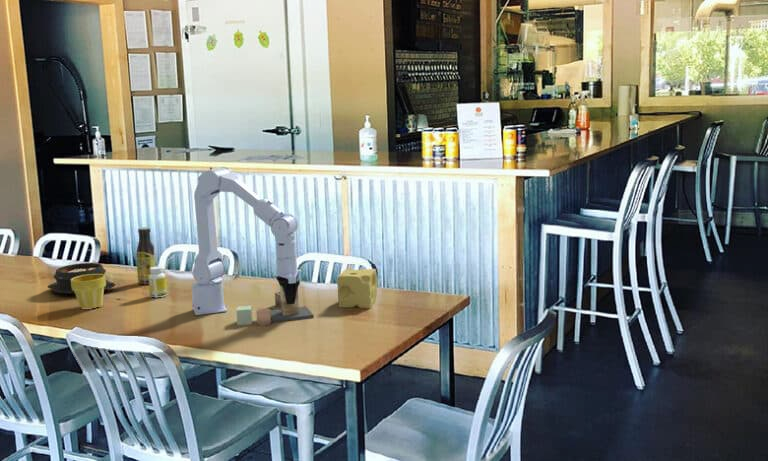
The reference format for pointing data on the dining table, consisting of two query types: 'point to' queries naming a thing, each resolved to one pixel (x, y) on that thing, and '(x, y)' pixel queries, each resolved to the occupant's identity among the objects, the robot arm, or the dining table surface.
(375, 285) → the cheese
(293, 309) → the oak block
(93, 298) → the plant pot
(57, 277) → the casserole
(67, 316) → the dining table surface
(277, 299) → the walnut block
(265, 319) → the brown block
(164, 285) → the supplement bottle
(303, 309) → the bar mat
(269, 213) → the robot arm
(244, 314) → the sage block
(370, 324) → the dining table surface
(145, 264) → the sauce bottle
